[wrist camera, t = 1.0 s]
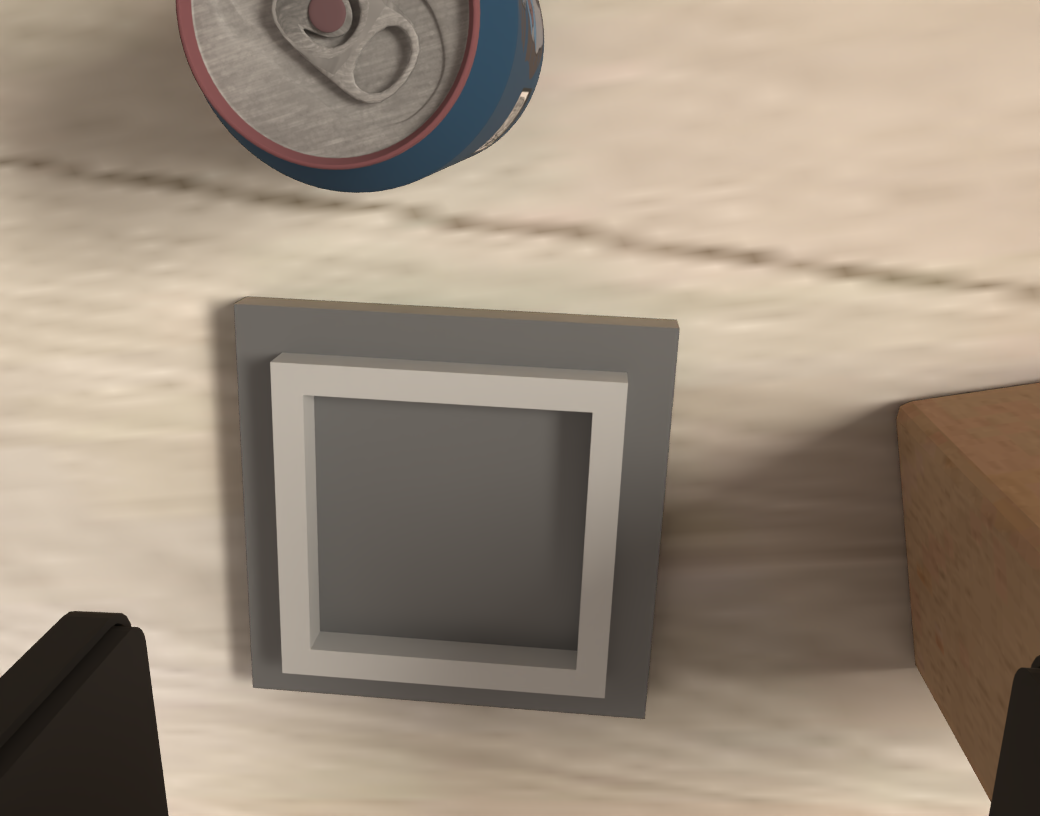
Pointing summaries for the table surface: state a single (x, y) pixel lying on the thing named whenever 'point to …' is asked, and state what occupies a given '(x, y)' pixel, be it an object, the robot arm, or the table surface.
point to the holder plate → (453, 501)
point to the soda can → (364, 81)
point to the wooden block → (973, 554)
